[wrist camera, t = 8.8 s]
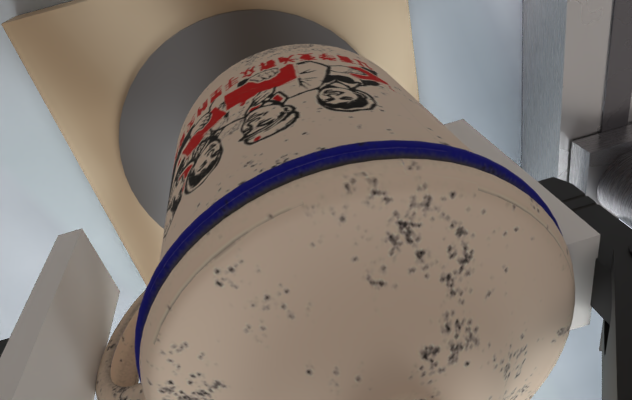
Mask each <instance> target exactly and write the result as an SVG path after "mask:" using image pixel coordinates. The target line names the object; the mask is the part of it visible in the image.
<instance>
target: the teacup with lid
mask: <svg viewBox="0 0 632 400" xmlns="http://www.w3.org/2000/svg"><path fill="white" fill-rule="evenodd" d="M574 307H575V281H574V272H573V265H572V261H571V257H570V253H569V250H568V248H567V245H566V243H565V240H564V238H563V235H562V233H561V230H560V228H559V226H558V223H557V221H556V219H555V217H554V216H553V214H552V213H551V211H550V209H549V208H548V206H547V205H546V204H545V202H544V201H543V200H542V199H541V198H540V196H539V195H538V194H537V193H536V192H535V191H534V190H533V189H532V188H531V187H530V186H529V185H528V184H527V183H526V182H524V181H523V180H522V179H521V178H520V177H518V176H517V175H515V174H514V173H512V172H511V171H509V170H508V169H507V168H505V167H503V166H501V165H500V164H498V163H496V162H494V161H492V160H490V159H488V158H486V157H483V156H481V155H478V154H475V153H473V152H472V151H471V150H470V149H469V148H468V147H467V146H466V145H465V144H464V143H462V142H461V141H460V140H459V139H458V138H457V137H456V136H455V135H454V134H453V133H452V132H451V131H450V130H448V129H447V128H446V127H445V126H444V125H443V124H442V123H441V122H440V121H439V120H438V119H437V118H435V117H434V116H433V115H432V114H431V113H430V112H429V111H428V110H427V109H426V108H425V107H424V106H423V105H421V104H420V103H419V102H418V101H417V100H416V99H415V98H414V97H413V96H412V95H411V94H410V93H408V92H407V91H406V90H405V89H404V88H403V87H402V86H401V85H400V84H399V83H398V82H397V81H396V80H394V79H393V78H392V77H391V76H390V75H389V74H388V73H387V72H386V71H384V70H383V69H382V68H380V67H379V66H378V65H376V64H375V63H373V62H372V61H370V60H368V59H366V58H364V57H362V56H360V55H358V54H355V53H353V52H351V51H348V50H344V49H341V48H338V47H333V46H327V45H319V44H294V45H286V46H280V47H276V48H272V49H268V50H265V51H262V52H259V53H256V54H254V55H252V56H250V57H247V58H245V59H243V60H241V61H240V62H238V63H236V64H235V65H233V66H231V67H230V68H228V69H227V70H226V71H224V72H223V73H222V74H220V75H219V76H218V77H217V78H216V79H215V80H214V81H212V82H211V83H210V84H209V86H208V87H207V88H206V89H205V90H204V91H203V92H202V93H201V95H200V96H199V97H198V99H197V100H196V101H195V103H194V104H193V106H192V108H191V110H190V111H189V113H188V115H187V117H186V119H185V121H184V124H183V126H182V128H181V132H180V135H179V138H178V142H177V147H176V153H175V160H174V166H173V173H172V180H171V187H170V193H169V200H168V207H167V213H166V220H165V227H164V234H163V240H162V247H161V254H160V260H159V265H158V266H157V268H156V269H155V271H154V273H153V275H152V277H151V280H150V282H149V284H148V286H147V288H146V290H145V291H144V292H143V293H142V294H141V295H140V296H139V297H138V298H137V300H136V301H135V302H134V303H133V304H132V306H131V307H130V308H129V310H128V311H127V312H126V314H125V315H124V317H123V318H122V320H121V321H120V323H119V324H118V326H117V328H116V329H115V331H114V333H113V335H112V336H111V338H110V340H109V342H108V344H107V347H106V349H105V351H104V354H103V356H102V359H101V362H100V365H99V369H98V373H97V379H96V395H97V399H98V400H530V399H531V398H532V396H533V395H534V394H535V393H536V392H537V391H538V389H539V388H540V387H541V385H542V384H543V383H544V381H545V380H546V378H547V377H548V375H549V374H550V372H551V371H552V369H553V367H554V366H555V364H556V362H557V360H558V358H559V356H560V354H561V352H562V351H563V348H564V345H565V343H566V340H567V338H568V335H569V331H570V327H571V324H572V320H573V313H574ZM139 379H140V382H141V383H139V384H138V381H139Z"/></svg>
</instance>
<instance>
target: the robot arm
mask: <svg viewBox="0 0 632 400" xmlns="http://www.w3.org/2000/svg"><path fill="white" fill-rule="evenodd" d="M444 126H445V127H446V128H447V129H448V130H450V131H451V132H452V133H453V134H454V135H455V136H456V137H457V138H458V139H459V140H460V141H461V142H462V143H464V144H465V145H466V146H467V147H468V148H469V149H470V150H471V151H472V152H473V153H475V154H478V155H481V156H483V157H486V158H488V159H490V160H492V161H494V162H496V163H498V164H500V165H501V166H503V167H505V168H507V169H508V170H509V171H511V172H512V173H514V174H515V175H517V176H518V177H520V178H521V179H522V180H523V181H524V182H526V183H527V184H528V185H529V186H530V187H531V188H532V189H533V190H534V191H535V192H536V193H537V194H538V195H539V196H540V198H541V199H542V200H543V201H544V202H545V204H546V205H547V206H548V208H549V209H550V211H551V213H552V214H553V216H554V217H555V219H556V221H557V223H558V226H559V228H560V230H561V233H562V235H563V238H564V240H565V243H566V245H567V248H568V250H569V253H570V257H571V261H572V265H573V272H574V281H575V307H574V313H573V320H572V324H571V327H570V330H573V329H576V328H579V327H583V326H586V325H589V324H590V317H591V309H592V307H593V308H594V309H595V310H596V311H597V312H598V313H599V315H600V316H601V317H602V318H603V326H602V333H601V340H600V347H599V351H602V400H632V229H631V228H629V227H628V226H627V225H625V224H624V223H623V222H621V221H620V220H619V219H618V218H616V217H615V216H614V215H612V214H611V213H610V212H608V211H607V210H606V209H604V208H603V207H602V206H601V205H599V204H598V205H597V204H596V202H595V201H594V200H593V199H591V198H590V197H589V196H586V195H585V193H584V192H582V191H581V190H580V189H578V188H577V187H576V186H574V185H573V184H572V183H569V182H566V181H563V180H561V179H558V178H555V177H551V178H547V179H544V180H540V181H536V180H535V179H534V178H533V177H531V176H530V175H529V174H528V173H527V172H525V171H524V170H523V169H522V168H521V167H519V166H518V165H517V164H516V163H515V162H514V161H512V160H511V159H510V158H509V157H508V156H506V155H505V154H504V153H503V152H502V151H500V150H499V149H498V148H497V147H496V146H494V145H493V144H492V143H491V142H490V141H489V140H487V139H486V138H485V137H484V136H483V135H481V134H480V133H479V132H478V131H477V130H475V129H474V128H473V127H472V126H471V125H470V124H468V123H467V122H466V121H465V120H464V119H462V120H458V121H455V122H451V123H448V124H444ZM119 293H120V291H119V289H118V287H117V286H116V284H115V282H114V281H113V279H112V277H111V276H110V274H109V273H108V271H107V269H106V268H105V266H104V264H103V263H102V261H101V259H100V258H99V256H98V254H97V253H96V251H95V249H94V248H93V246H92V244H91V243H90V241H89V239H88V238H87V236H86V234H85V233H84V231H83V229H79V230H75V231H72V232H69V233H65V234H62V235H58V237H57V239H56V241H55V243H54V245H53V248H52V250H51V252H50V254H49V256H48V258H47V260H46V262H45V264H44V267H43V269H42V271H41V273H40V275H39V277H38V279H37V281H36V283H35V286H34V288H33V290H32V292H31V294H30V296H29V298H28V300H27V302H26V304H25V307H24V309H23V311H22V313H21V315H20V317H19V319H18V321H17V323H16V326H15V328H14V330H13V332H12V334H11V336H10V338H8V339H4V340H1V341H0V400H94V396H95V392H96V379H97V373H98V369H99V365H100V362H101V359H102V356H103V354H104V351H105V349H106V346H107V342H108V338H109V334H110V330H111V326H112V322H113V318H114V313H115V309H116V305H117V301H118V297H119Z"/></svg>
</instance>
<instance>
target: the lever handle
mask: <svg viewBox="0 0 632 400" xmlns="http://www.w3.org/2000/svg"><path fill="white" fill-rule="evenodd" d="M569 183H572V184H573V185H574V186H576V187H577V188H578V189H580V190H581V191H582V192H584V193H585V195H586V196H589V197H590V198H591V199H593V200H594V201H595V202H596V204H597V205H598V204H599V205H601V206H602V207H603V208H604V209H606V210H607V211H608V212H610V213H611V214H612V215H614V216H615V217H616V218H618V219H619V218H620V219H621V220H622V221H624V222H625V223H626V224H628V225H629V226H630V227H632V124H630V125H626V126H623V127H619V128H616V129H613V130H609V131H606V132H602V133H599V134H596V135H592V136H589V137H585V138H582V139H579V140H575V141H572V146H571V160H570V175H569Z"/></svg>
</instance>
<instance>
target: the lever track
mask: <svg viewBox="0 0 632 400" xmlns="http://www.w3.org/2000/svg"><path fill="white" fill-rule="evenodd" d="M630 124H632V0H523V88H522V169H523V170H524V171H525V172H527V173H528V174H529V175H530V176H531V177H533V178H534V179H535V180H536V181H540V180H544V179H547V178H551V177H555V178H558V179H561V180H563V181H566V182H569V175H570V160H571V146H572V141H575V140H579V139H582V138H585V137H589V136H592V135H596V134H599V133H602V132H606V131H609V130H613V129H616V128H619V127H623V126H626V125H630Z"/></svg>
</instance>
